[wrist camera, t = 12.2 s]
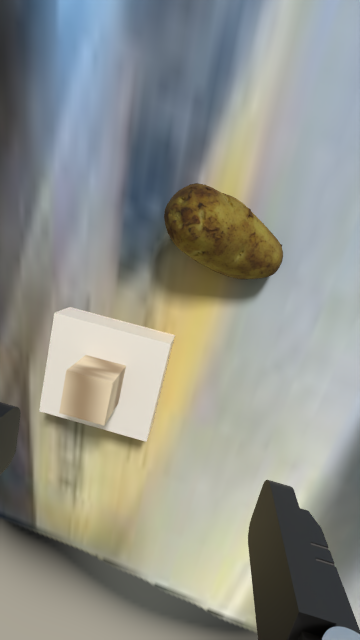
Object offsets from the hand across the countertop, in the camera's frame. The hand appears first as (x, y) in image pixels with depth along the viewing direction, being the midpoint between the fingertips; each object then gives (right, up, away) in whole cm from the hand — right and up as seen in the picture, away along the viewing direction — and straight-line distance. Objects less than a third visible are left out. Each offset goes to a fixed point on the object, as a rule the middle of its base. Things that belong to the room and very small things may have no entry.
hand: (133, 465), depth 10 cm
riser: (-7, -2, +31) cm, 32 cm away
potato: (+6, +14, +27) cm, 31 cm away
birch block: (-8, -3, +27) cm, 29 cm away
